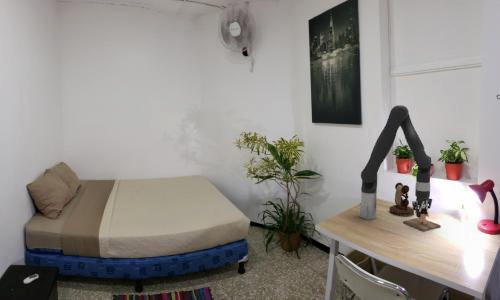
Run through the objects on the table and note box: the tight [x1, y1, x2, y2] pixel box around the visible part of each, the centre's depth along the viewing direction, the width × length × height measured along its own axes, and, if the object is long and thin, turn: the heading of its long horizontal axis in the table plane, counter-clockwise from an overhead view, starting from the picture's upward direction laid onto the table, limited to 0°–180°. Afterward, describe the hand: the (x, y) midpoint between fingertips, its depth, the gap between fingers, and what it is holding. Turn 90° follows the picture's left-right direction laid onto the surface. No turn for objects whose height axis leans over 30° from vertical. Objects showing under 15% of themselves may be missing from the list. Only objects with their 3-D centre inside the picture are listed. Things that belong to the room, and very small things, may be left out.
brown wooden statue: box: [388, 182, 415, 217], centre depth 197 cm, size 15×15×20 cm
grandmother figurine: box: [414, 204, 430, 225], centre depth 177 cm, size 8×4×13 cm, turn 50°
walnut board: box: [402, 217, 441, 233], centre depth 178 cm, size 14×14×1 cm
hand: (421, 216), depth 177 cm, fingers open, 4 cm apart
